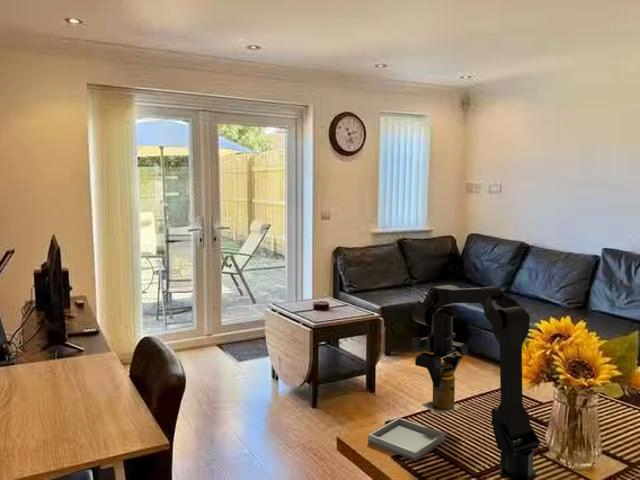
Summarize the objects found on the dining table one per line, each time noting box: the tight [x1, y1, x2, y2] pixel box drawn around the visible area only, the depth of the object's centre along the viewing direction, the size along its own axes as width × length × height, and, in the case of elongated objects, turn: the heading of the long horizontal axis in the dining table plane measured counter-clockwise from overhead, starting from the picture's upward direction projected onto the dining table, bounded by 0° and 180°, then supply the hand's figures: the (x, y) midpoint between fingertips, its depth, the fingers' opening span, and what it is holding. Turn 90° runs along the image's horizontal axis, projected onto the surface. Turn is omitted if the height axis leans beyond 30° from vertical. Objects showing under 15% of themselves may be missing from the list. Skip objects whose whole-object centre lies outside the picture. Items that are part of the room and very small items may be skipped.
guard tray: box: [367, 417, 446, 462], centre depth 145 cm, size 15×14×2 cm
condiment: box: [420, 362, 462, 415], centre depth 151 cm, size 7×8×12 cm
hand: (442, 384), depth 152 cm, fingers closed on condiment, 6 cm apart
